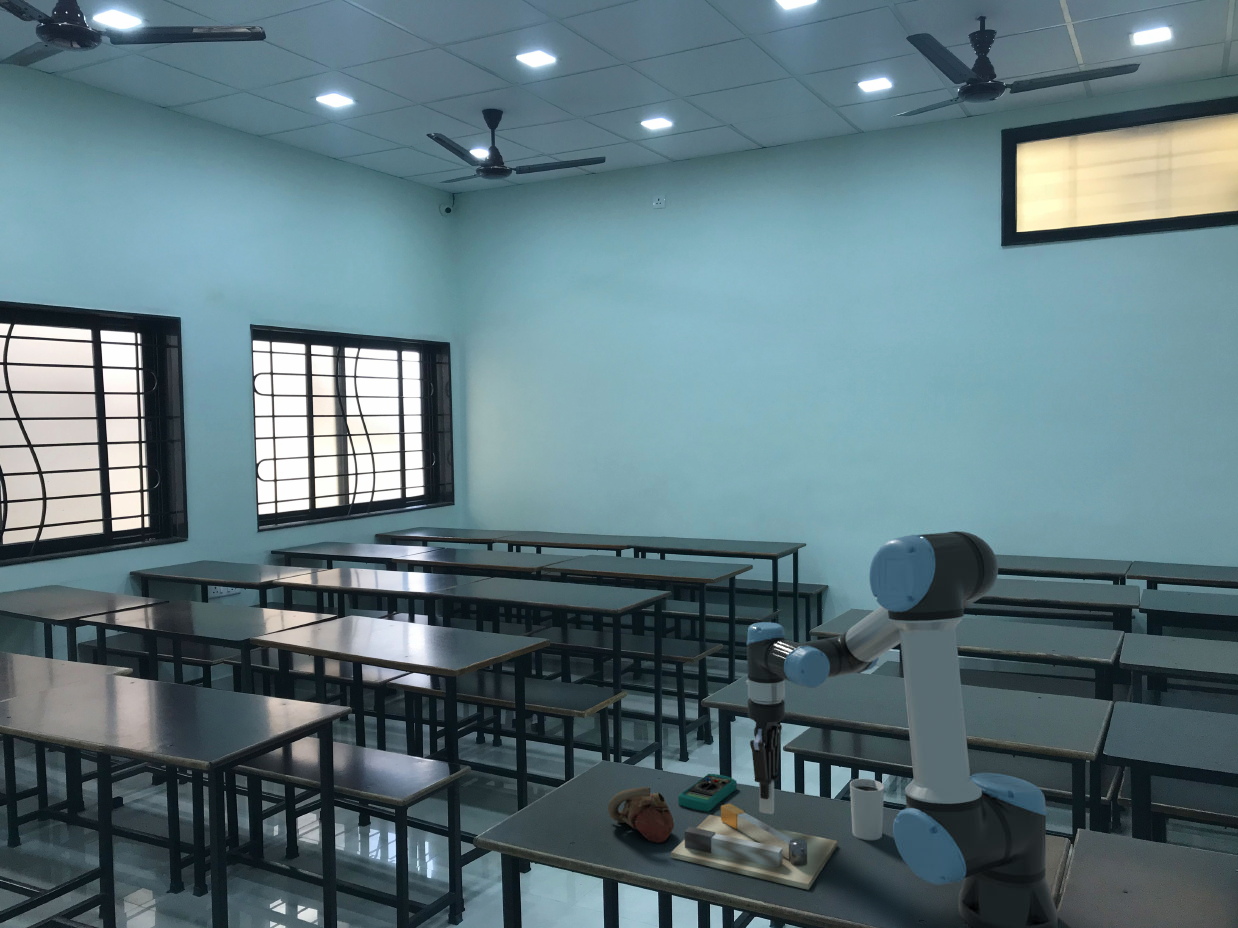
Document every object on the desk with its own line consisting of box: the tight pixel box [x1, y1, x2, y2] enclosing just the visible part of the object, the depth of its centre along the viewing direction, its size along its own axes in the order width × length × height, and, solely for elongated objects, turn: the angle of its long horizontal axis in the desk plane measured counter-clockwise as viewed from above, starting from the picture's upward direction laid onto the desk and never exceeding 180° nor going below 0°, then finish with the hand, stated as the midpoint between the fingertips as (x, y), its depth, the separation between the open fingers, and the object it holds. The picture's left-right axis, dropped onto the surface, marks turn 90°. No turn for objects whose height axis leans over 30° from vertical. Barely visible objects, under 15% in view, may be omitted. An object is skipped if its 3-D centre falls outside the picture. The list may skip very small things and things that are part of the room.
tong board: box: [670, 814, 838, 890], centre depth 174 cm, size 27×19×4 cm
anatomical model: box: [607, 786, 675, 844], centre depth 183 cm, size 13×9×15 cm
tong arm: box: [720, 803, 807, 866], centre depth 176 cm, size 24×3×4 cm, turn 31°
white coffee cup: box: [849, 778, 885, 841], centre depth 181 cm, size 7×7×10 cm
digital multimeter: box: [677, 773, 738, 812], centre depth 201 cm, size 8×15×3 cm, turn 148°
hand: (766, 811), depth 185 cm, fingers closed
